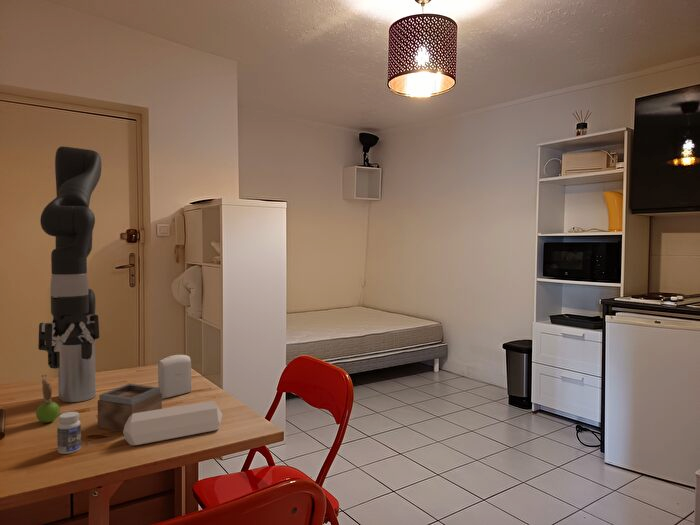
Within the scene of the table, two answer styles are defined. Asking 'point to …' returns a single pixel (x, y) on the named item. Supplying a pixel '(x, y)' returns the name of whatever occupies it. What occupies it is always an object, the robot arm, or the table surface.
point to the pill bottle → (69, 433)
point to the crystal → (172, 422)
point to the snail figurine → (47, 405)
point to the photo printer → (174, 375)
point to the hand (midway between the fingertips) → (71, 363)
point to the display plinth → (126, 404)
